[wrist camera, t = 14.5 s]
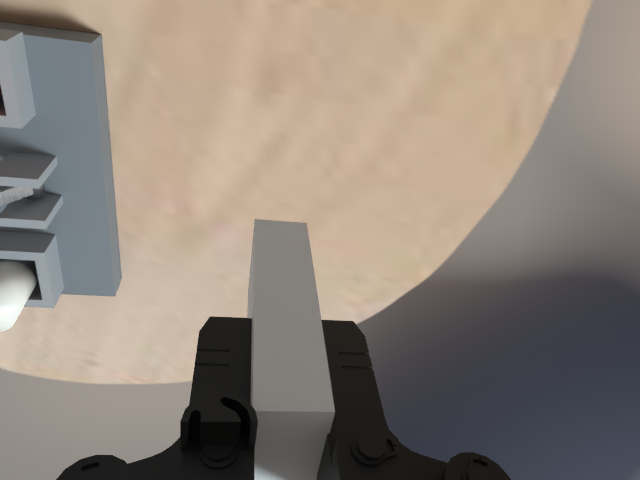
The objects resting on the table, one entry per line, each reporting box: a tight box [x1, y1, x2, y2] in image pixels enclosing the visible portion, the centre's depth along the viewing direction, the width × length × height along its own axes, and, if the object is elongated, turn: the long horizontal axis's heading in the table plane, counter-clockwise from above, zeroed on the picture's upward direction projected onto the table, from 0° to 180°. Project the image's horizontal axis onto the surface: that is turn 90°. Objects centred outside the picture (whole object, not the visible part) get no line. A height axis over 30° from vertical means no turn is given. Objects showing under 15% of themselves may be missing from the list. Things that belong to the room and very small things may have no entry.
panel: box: [0, 22, 122, 308], centre depth 43 cm, size 25×12×7 cm, turn 172°
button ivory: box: [0, 260, 37, 332], centre depth 44 cm, size 4×4×5 cm
